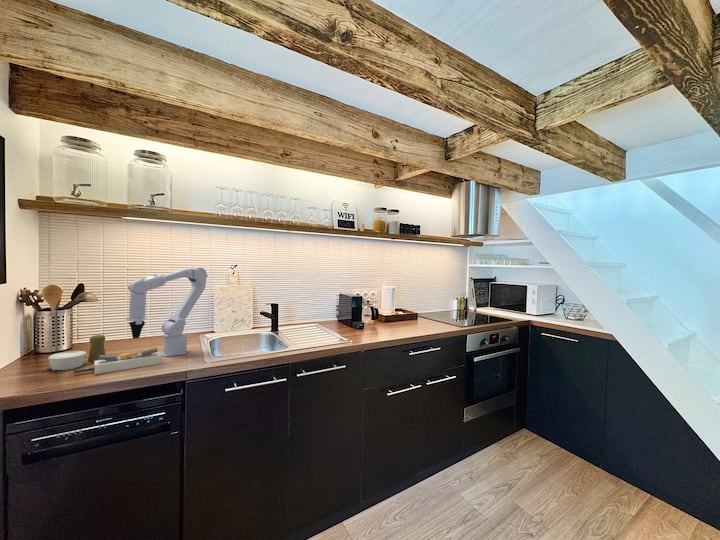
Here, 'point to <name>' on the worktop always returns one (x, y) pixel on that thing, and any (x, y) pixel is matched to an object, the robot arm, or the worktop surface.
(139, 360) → the rocker switch panel
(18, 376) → the worktop surface
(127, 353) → the rocker middle
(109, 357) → the block
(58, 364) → the ramekin
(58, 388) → the worktop surface
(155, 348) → the block
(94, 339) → the olive-brown rounded piece
